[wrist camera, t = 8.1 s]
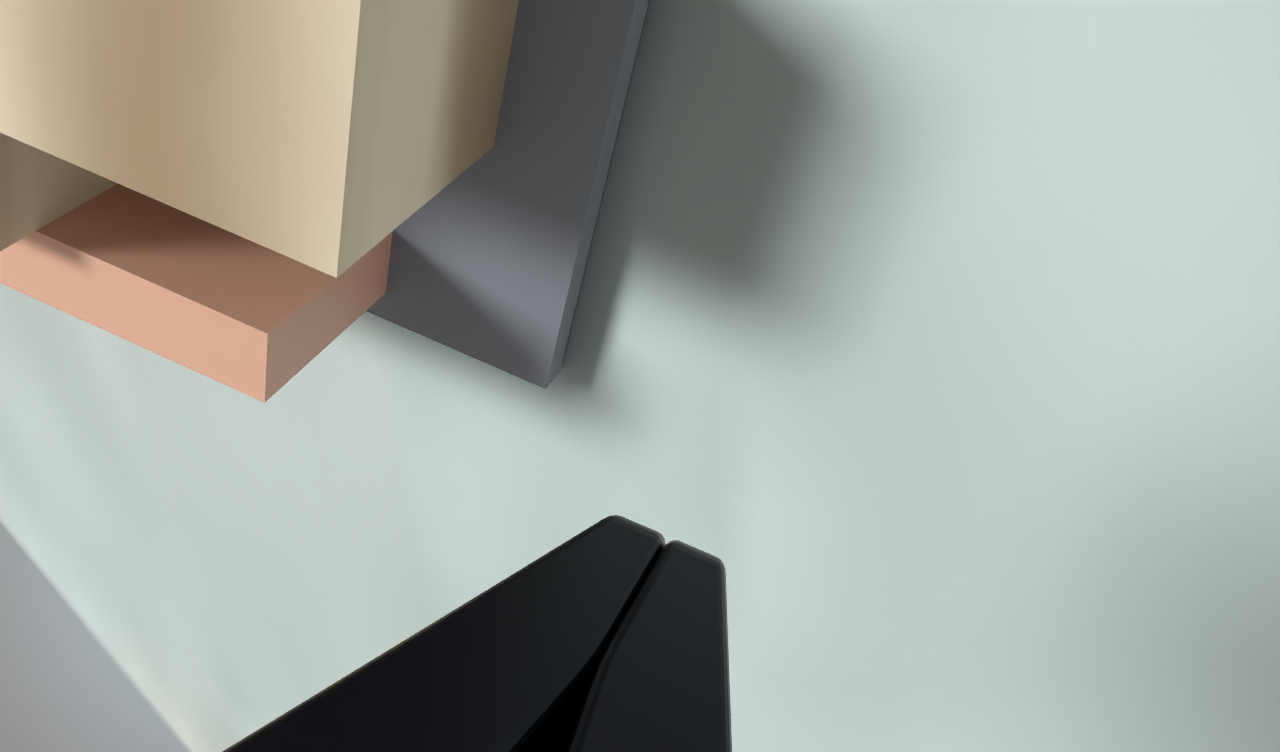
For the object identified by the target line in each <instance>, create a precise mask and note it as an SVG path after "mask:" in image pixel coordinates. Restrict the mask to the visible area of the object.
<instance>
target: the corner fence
mask: <svg viewBox="0 0 1280 752" xmlns="http://www.w3.org/2000/svg"><path fill="white" fill-rule="evenodd" d="M392 233H393V231H392V232H391V233H390V234H389V235H387V236H386V237H385V238H384V239H383V240H381V241H380V242H379V243H378V244H377V245H375V246H374V247H373V248H372V249H371V250H369V251H368V252H367V253H366V254H365V255H363V256H362V257H361V258H360V259H359V260H357V261H356V262H355V263H354V264H353V265H352V266H350V267H349V268H348V269H347V270H346V271H344V272H343V273H342V274H341V275H340V276H338V277H337V278H336V277H333V276H331V275H329V274H326V273H324V272H322V271H319V270H317V269H315V268H312V267H310V266H308V265H305V264H303V263H301V262H299V261H296V260H294V259H292V258H289V257H287V256H285V255H282V254H280V253H278V252H275V251H273V250H271V249H268V248H266V247H264V246H262V245H259V244H257V243H255V242H252V241H250V240H248V239H245V238H243V237H241V236H238V235H236V234H234V233H231V232H229V231H227V230H225V229H222V228H220V227H218V226H215V225H213V224H211V223H208V222H206V221H204V220H201V219H199V218H197V217H194V216H192V215H190V214H188V213H185V212H183V211H181V210H178V209H176V208H174V207H171V206H169V205H167V204H164V203H162V202H160V201H157V200H155V199H153V198H151V197H148V196H146V195H144V194H141V193H139V192H137V191H134V190H132V189H130V188H127V187H125V186H123V185H120V184H117V185H115V186H113V187H111V188H110V189H108V190H106V191H104V192H103V193H101V194H99V195H97V196H96V197H94V198H92V199H90V200H89V201H87V202H85V203H84V204H82V205H80V206H78V207H77V208H75V209H73V210H71V211H70V212H68V213H66V214H64V215H63V216H61V217H59V218H58V219H56V220H54V221H52V222H51V223H49V224H47V225H45V226H44V227H42V228H40V229H38V230H37V231H35V232H33V233H32V234H30V235H28V236H26V237H25V238H23V239H21V240H19V241H18V242H16V243H14V244H12V245H11V246H9V247H7V248H6V249H4V250H2V251H0V283H2V284H4V285H6V286H9V287H11V288H13V289H15V290H17V291H20V292H22V293H24V294H26V295H28V296H31V297H33V298H35V299H37V300H39V301H42V302H44V303H46V304H48V305H50V306H53V307H55V308H57V309H59V310H62V311H64V312H66V313H68V314H70V315H73V316H75V317H77V318H79V319H81V320H84V321H86V322H88V323H90V324H92V325H95V326H97V327H99V328H101V329H103V330H106V331H108V332H110V333H112V334H114V335H117V336H119V337H121V338H123V339H125V340H128V341H130V342H132V343H134V344H137V345H139V346H141V347H143V348H145V349H148V350H150V351H152V352H154V353H156V354H159V355H161V356H163V357H165V358H167V359H170V360H172V361H174V362H176V363H178V364H181V365H183V366H185V367H187V368H189V369H192V370H194V371H196V372H198V373H200V374H203V375H205V376H207V377H209V378H212V379H214V380H216V381H218V382H220V383H223V384H225V385H227V386H229V387H231V388H234V389H236V390H238V391H240V392H242V393H245V394H247V395H249V396H251V397H253V398H256V399H258V400H260V401H262V402H264V403H265V402H266V401H267V400H268V399H269V398H270V397H271V396H272V395H274V394H275V393H276V392H277V391H278V390H279V389H280V388H281V387H282V386H283V385H285V384H286V383H287V382H288V381H289V380H290V379H291V378H292V377H293V376H294V375H296V374H297V373H298V372H299V371H300V370H301V369H302V368H303V367H304V366H306V365H307V364H308V363H309V362H310V361H311V360H312V359H313V358H314V357H315V356H317V355H318V354H319V353H320V352H321V351H322V350H323V349H324V348H325V347H326V346H328V345H329V344H330V343H331V342H332V341H333V340H334V339H335V338H336V337H337V336H339V335H340V334H341V333H342V332H343V331H344V330H345V329H346V328H347V327H348V326H350V325H351V324H352V323H353V322H354V321H355V320H356V319H357V318H358V317H360V316H361V315H362V314H363V313H364V312H365V311H366V310H367V309H368V308H369V307H371V306H372V305H373V304H374V303H375V302H376V301H377V300H378V299H379V298H380V297H382V296H383V295H384V294H385V293H386V284H387V276H388V267H389V259H390V250H391V242H392Z"/></svg>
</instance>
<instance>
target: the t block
mask: <svg viewBox="0 0 1280 752" xmlns="http://www.w3.org/2000/svg"><path fill="white" fill-rule="evenodd" d="M518 2H519V0H0V251H2V250H4V249H6V248H7V247H9V246H11V245H12V244H14V243H16V242H18V241H19V240H21V239H23V238H25V237H26V236H28V235H30V234H32V233H33V232H35V231H37V230H38V229H40V228H42V227H44V226H45V225H47V224H49V223H51V222H52V221H54V220H56V219H58V218H59V217H61V216H63V215H64V214H66V213H68V212H70V211H71V210H73V209H75V208H77V207H78V206H80V205H82V204H84V203H85V202H87V201H89V200H90V199H92V198H94V197H96V196H97V195H99V194H101V193H103V192H104V191H106V190H108V189H110V188H111V187H113V186H115V185H117V184H120V185H123V186H125V187H127V188H130V189H132V190H134V191H137V192H139V193H141V194H144V195H146V196H148V197H151V198H153V199H155V200H157V201H160V202H162V203H164V204H167V205H169V206H171V207H174V208H176V209H178V210H181V211H183V212H185V213H188V214H190V215H192V216H194V217H197V218H199V219H201V220H204V221H206V222H208V223H211V224H213V225H215V226H218V227H220V228H222V229H225V230H227V231H229V232H231V233H234V234H236V235H238V236H241V237H243V238H245V239H248V240H250V241H252V242H255V243H257V244H259V245H262V246H264V247H266V248H268V249H271V250H273V251H275V252H278V253H280V254H282V255H285V256H287V257H289V258H292V259H294V260H296V261H299V262H301V263H303V264H305V265H308V266H310V267H312V268H315V269H317V270H319V271H322V272H324V273H326V274H329V275H331V276H333V277H336V278H337V277H338V276H340V275H341V274H342V273H343V272H344V271H346V270H347V269H348V268H349V267H350V266H352V265H353V264H354V263H355V262H356V261H357V260H359V259H360V258H361V257H362V256H363V255H365V254H366V253H367V252H368V251H369V250H371V249H372V248H373V247H374V246H375V245H377V244H378V243H379V242H380V241H381V240H383V239H384V238H385V237H386V236H387V235H389V234H390V233H391V232H392V231H393V230H394V229H396V228H397V227H398V226H399V225H400V224H402V223H403V222H404V221H405V220H406V219H408V218H409V217H410V216H411V215H412V214H414V213H415V212H416V211H417V210H418V209H420V208H421V207H422V206H423V205H424V204H426V203H427V202H428V201H429V200H430V199H432V198H433V197H434V196H435V195H436V194H437V193H439V192H440V191H441V190H442V189H443V188H445V187H446V186H447V185H448V184H449V183H451V182H452V181H453V180H454V179H455V178H457V177H458V176H459V175H460V174H461V173H463V172H464V171H465V170H466V169H467V168H469V167H470V166H471V165H472V164H473V163H475V162H476V161H477V160H478V159H479V158H480V157H482V156H483V155H484V154H485V153H486V152H488V151H489V150H490V149H491V148H492V147H494V142H495V136H496V131H497V125H498V119H499V113H500V107H501V101H502V96H503V90H504V84H505V78H506V72H507V66H508V61H509V55H510V49H511V43H512V37H513V31H514V26H515V20H516V14H517V8H518Z"/></svg>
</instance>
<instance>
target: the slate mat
mask: <svg viewBox="0 0 1280 752" xmlns="http://www.w3.org/2000/svg"><path fill="white" fill-rule="evenodd" d="M648 3H649V0H519V2H518V8H517V14H516V20H515V26H514V31H513V37H512V43H511V49H510V55H509V61H508V66H507V72H506V78H505V84H504V90H503V96H502V101H501V107H500V113H499V119H498V125H497V131H496V136H495V142H494V147H492V148H491V149H490V150H489V151H488V152H486V153H485V154H484V155H483V156H482V157H480V158H479V159H478V160H477V161H476V162H475V163H473V164H472V165H471V166H470V167H469V168H467V169H466V170H465V171H464V172H463V173H461V174H460V175H459V176H458V177H457V178H455V179H454V180H453V181H452V182H451V183H449V184H448V185H447V186H446V187H445V188H443V189H442V190H441V191H440V192H439V193H437V194H436V195H435V196H434V197H433V198H432V199H430V200H429V201H428V202H427V203H426V204H424V205H423V206H422V207H421V208H420V209H418V210H417V211H416V212H415V213H414V214H412V215H411V216H410V217H409V218H408V219H406V220H405V221H404V222H403V223H402V224H400V225H399V226H398V227H397V228H396V229H394V230H393V233H392V242H391V250H390V259H389V267H388V276H387V284H386V293H385V294H384V295H383V296H382V297H380V298H379V299H378V300H377V301H376V302H375V303H374V304H373V305H372V306H371V307H369V308H368V309H367V310H366V311H368V312H370V313H372V314H375V315H377V316H379V317H381V318H384V319H386V320H388V321H391V322H393V323H395V324H398V325H400V326H402V327H404V328H407V329H409V330H411V331H414V332H416V333H418V334H421V335H423V336H425V337H428V338H430V339H432V340H434V341H437V342H439V343H441V344H444V345H446V346H448V347H451V348H453V349H455V350H458V351H460V352H462V353H464V354H467V355H469V356H471V357H474V358H476V359H478V360H481V361H483V362H485V363H488V364H490V365H492V366H494V367H497V368H499V369H501V370H504V371H506V372H508V373H511V374H513V375H515V376H518V377H520V378H522V379H524V380H527V381H529V382H531V383H534V384H536V385H538V386H541V387H543V388H545V389H546V387H547V386H548V385H549V384H550V382H551V381H552V380H553V378H554V377H555V376H556V375H557V373H558V372H559V371H560V369H561V367H562V362H563V358H564V354H565V350H566V346H567V342H568V337H569V333H570V329H571V325H572V321H573V316H574V312H575V308H576V304H577V300H578V296H579V291H580V287H581V283H582V279H583V275H584V271H585V266H586V262H587V258H588V254H589V250H590V246H591V241H592V237H593V233H594V229H595V225H596V221H597V216H598V212H599V208H600V204H601V200H602V195H603V191H604V187H605V183H606V179H607V175H608V170H609V166H610V162H611V158H612V154H613V150H614V145H615V141H616V137H617V133H618V129H619V125H620V120H621V116H622V112H623V108H624V104H625V99H626V95H627V91H628V87H629V83H630V79H631V74H632V70H633V66H634V62H635V58H636V54H637V49H638V45H639V41H640V37H641V33H642V29H643V24H644V20H645V16H646V12H647V8H648Z"/></svg>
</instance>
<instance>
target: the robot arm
mask: <svg viewBox="0 0 1280 752" xmlns="http://www.w3.org/2000/svg"><path fill="white" fill-rule="evenodd" d="M222 752H732V738H731V710H730V683H729V655H728V627H727V599H726V573H725V567H724V564H723V562H722V561H721V560H720V559H719V558H718V557H715V556H713V555H711V554H708V553H706V552H704V551H701V550H699V549H697V548H694V547H692V546H690V545H687V544H685V543H683V542H680V541H677V540H674V541H670V542H669V543H667V544H666V545H665V539H664V537H663V536H662V534H660V533H659V532H657V531H655V530H652V529H650V528H647V527H645V526H643V525H640V524H638V523H636V522H633V521H631V520H629V519H626V518H624V517H622V516H618V515H614V516H609V517H606V518H605V519H603V520H601V521H599V522H598V523H596V524H594V525H593V526H591V527H590V528H588V529H586V530H585V531H583V532H581V533H580V534H578V535H576V536H575V537H573V538H572V539H570V540H568V541H567V542H565V543H563V544H562V545H560V546H558V547H557V548H555V549H554V550H552V551H550V552H549V553H547V554H545V555H544V556H542V557H540V558H539V559H537V560H535V561H534V562H532V563H531V564H529V565H527V566H526V567H524V568H522V569H521V570H519V571H517V572H516V573H514V574H513V575H511V576H509V577H508V578H506V579H504V580H503V581H501V582H499V583H498V584H496V585H495V586H493V587H491V588H490V589H488V590H486V591H485V592H483V593H481V594H480V595H478V596H476V597H475V598H473V599H472V600H470V601H468V602H467V603H465V604H463V605H462V606H460V607H458V608H457V609H455V610H454V611H452V612H450V613H449V614H447V615H445V616H444V617H442V618H440V619H439V620H437V621H436V622H434V623H432V624H431V625H429V626H427V627H426V628H424V629H422V630H421V631H419V632H417V633H416V634H414V635H413V636H411V637H409V638H408V639H406V640H404V641H403V642H401V643H399V644H398V645H396V646H395V647H393V648H391V649H390V650H388V651H386V652H385V653H383V654H381V655H380V656H378V657H377V658H375V659H373V660H372V661H370V662H368V663H367V664H365V665H363V666H362V667H360V668H358V669H357V670H355V671H354V672H352V673H350V674H349V675H347V676H345V677H344V678H342V679H340V680H339V681H337V682H336V683H334V684H332V685H331V686H329V687H327V688H326V689H324V690H322V691H321V692H319V693H318V694H316V695H314V696H313V697H311V698H309V699H308V700H306V701H304V702H303V703H301V704H299V705H298V706H296V707H295V708H293V709H291V710H290V711H288V712H286V713H285V714H283V715H281V716H280V717H278V718H277V719H275V720H273V721H272V722H270V723H268V724H267V725H265V726H263V727H262V728H260V729H259V730H257V731H255V732H254V733H252V734H250V735H249V736H247V737H245V738H244V739H242V740H241V741H239V742H237V743H236V744H234V745H232V746H231V747H229V748H227V749H226V750H224V751H222Z"/></svg>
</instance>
